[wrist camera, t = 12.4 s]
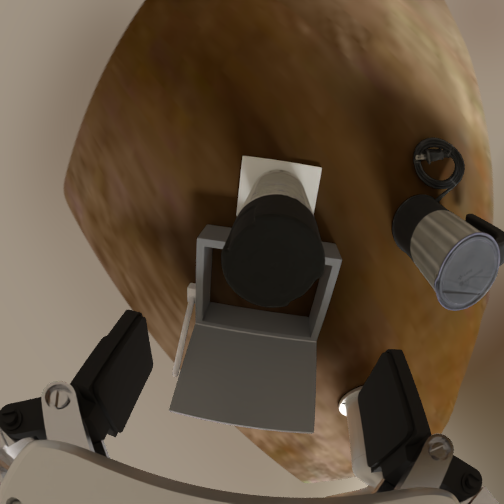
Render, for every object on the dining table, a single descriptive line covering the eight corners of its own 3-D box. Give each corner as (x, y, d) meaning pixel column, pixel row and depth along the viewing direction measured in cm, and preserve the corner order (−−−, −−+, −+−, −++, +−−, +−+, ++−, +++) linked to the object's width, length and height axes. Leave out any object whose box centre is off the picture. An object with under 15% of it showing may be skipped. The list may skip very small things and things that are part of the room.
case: (335, 243, 37) (368, 333, 21) (307, 340, 45) (312, 434, 28) (198, 223, 38) (137, 297, 22) (196, 322, 46) (160, 410, 29)
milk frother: (401, 264, 38) (443, 325, 24) (360, 170, 33) (406, 198, 20) (470, 222, 33) (527, 264, 20) (440, 128, 28) (509, 137, 15)
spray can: (241, 194, 35) (197, 267, 17) (278, 156, 33) (271, 190, 15) (278, 228, 37) (272, 328, 19) (316, 193, 34) (349, 267, 16)
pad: (321, 167, 33) (321, 168, 33) (310, 225, 37) (310, 227, 36) (243, 155, 34) (242, 156, 33) (236, 214, 37) (236, 215, 37)
